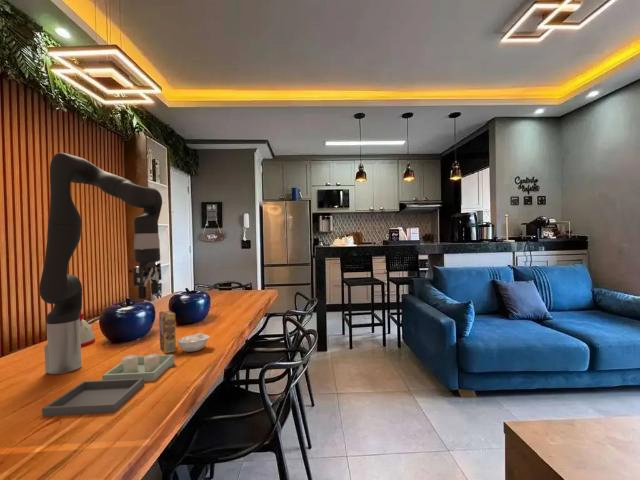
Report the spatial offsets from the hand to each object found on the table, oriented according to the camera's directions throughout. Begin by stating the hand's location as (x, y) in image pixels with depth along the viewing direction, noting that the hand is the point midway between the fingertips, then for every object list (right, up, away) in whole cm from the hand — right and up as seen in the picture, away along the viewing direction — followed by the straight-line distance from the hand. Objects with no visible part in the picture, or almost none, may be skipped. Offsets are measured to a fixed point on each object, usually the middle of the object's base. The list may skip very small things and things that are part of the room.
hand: (149, 296), depth 109 cm
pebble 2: (+1, -25, 0) cm, 25 cm away
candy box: (-5, -26, +24) cm, 36 cm away
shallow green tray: (-3, -26, 0) cm, 26 cm away
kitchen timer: (-50, -28, +35) cm, 67 cm away
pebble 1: (-6, -25, 0) cm, 26 cm away
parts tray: (-5, -27, -18) cm, 32 cm away
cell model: (+6, -26, +23) cm, 35 cm away
